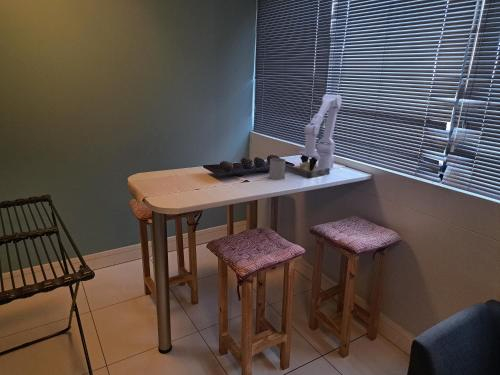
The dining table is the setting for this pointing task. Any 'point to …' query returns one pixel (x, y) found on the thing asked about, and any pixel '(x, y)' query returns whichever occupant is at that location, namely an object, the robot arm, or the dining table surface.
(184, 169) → the dining table surface
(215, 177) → the dining table surface
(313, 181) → the dining table surface
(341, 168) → the dining table surface
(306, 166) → the block
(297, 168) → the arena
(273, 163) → the cup
